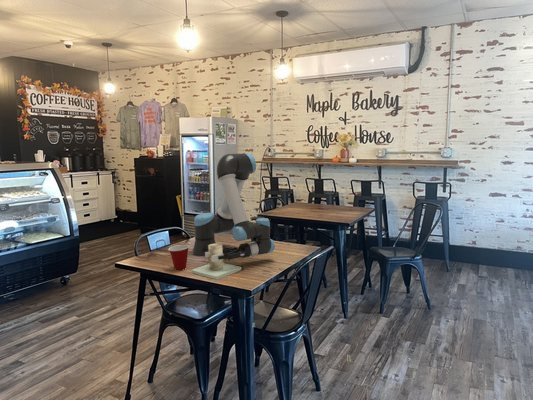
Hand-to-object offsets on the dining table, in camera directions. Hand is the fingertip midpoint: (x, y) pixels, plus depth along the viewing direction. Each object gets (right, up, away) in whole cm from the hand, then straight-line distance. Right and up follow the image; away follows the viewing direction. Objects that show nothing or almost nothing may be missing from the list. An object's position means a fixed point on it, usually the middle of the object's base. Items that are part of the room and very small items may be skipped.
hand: (208, 256), depth 201 cm
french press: (+24, 0, +60) cm, 65 cm away
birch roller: (+3, -6, +3) cm, 8 cm away
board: (+4, -8, +3) cm, 9 cm away
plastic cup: (-16, -8, +9) cm, 20 cm away
